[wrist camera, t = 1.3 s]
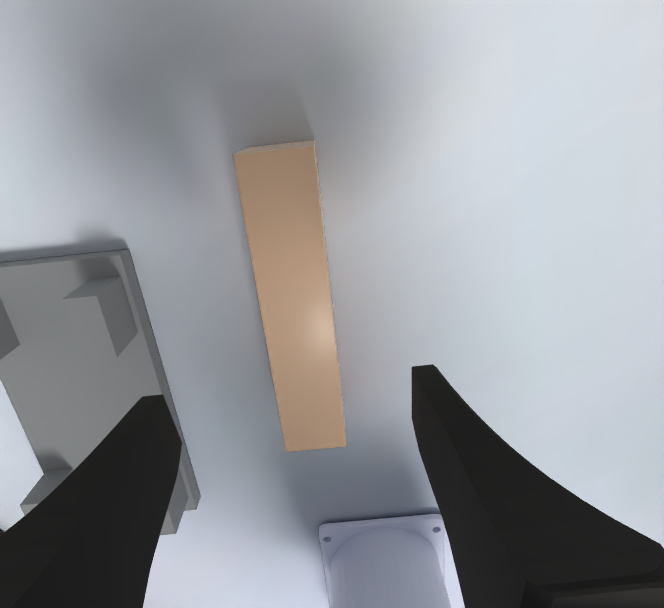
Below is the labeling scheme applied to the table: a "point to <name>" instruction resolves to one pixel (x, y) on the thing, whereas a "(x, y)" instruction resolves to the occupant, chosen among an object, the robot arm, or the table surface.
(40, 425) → the plate with corner studs
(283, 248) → the light brown rectangular bar
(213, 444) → the table surface
